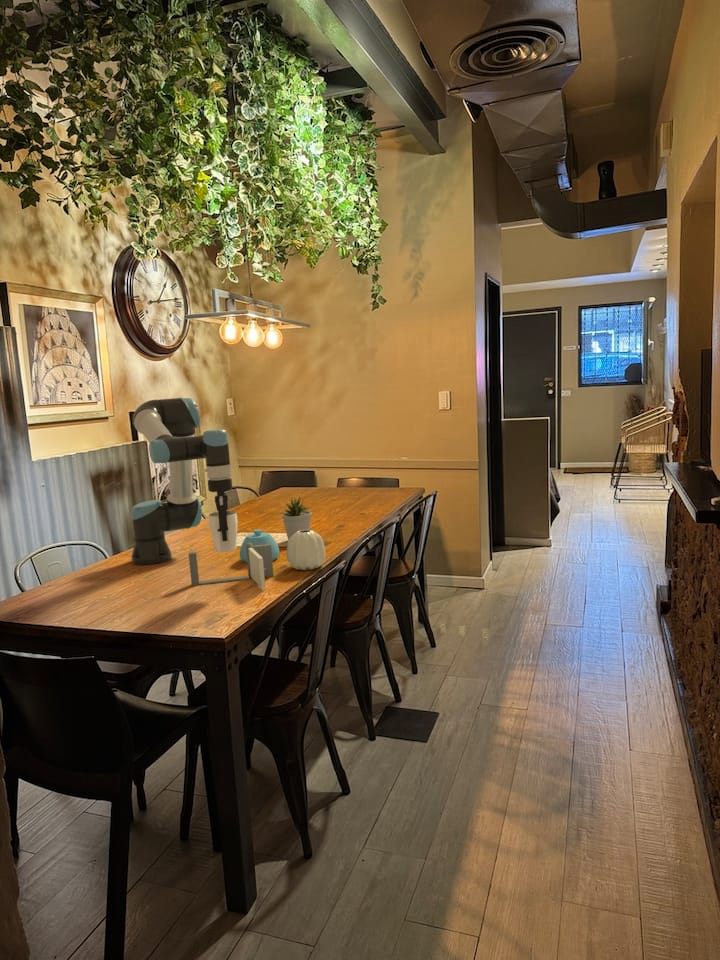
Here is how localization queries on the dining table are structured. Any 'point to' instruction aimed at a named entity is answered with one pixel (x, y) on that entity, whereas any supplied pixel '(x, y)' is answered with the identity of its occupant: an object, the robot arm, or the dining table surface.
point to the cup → (232, 529)
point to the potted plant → (296, 518)
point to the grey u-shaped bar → (267, 562)
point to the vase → (305, 550)
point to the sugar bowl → (259, 543)
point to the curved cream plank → (257, 568)
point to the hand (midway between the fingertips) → (226, 547)
